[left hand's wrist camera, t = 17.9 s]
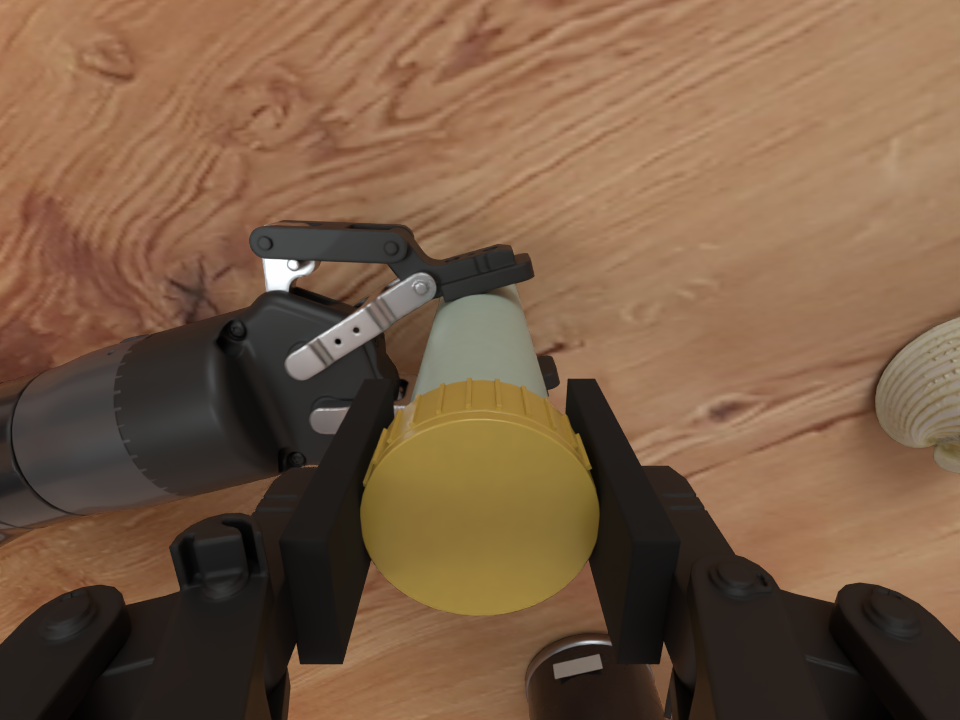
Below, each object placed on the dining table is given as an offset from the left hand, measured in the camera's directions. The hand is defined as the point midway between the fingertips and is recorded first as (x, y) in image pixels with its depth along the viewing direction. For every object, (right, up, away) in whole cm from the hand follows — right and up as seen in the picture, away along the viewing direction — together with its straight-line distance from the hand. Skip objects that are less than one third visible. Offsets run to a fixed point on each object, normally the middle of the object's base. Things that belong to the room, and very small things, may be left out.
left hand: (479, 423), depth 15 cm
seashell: (+27, +1, +15) cm, 31 cm away
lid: (0, -1, -4) cm, 4 cm away
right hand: (+3, +4, +7) cm, 8 cm away
